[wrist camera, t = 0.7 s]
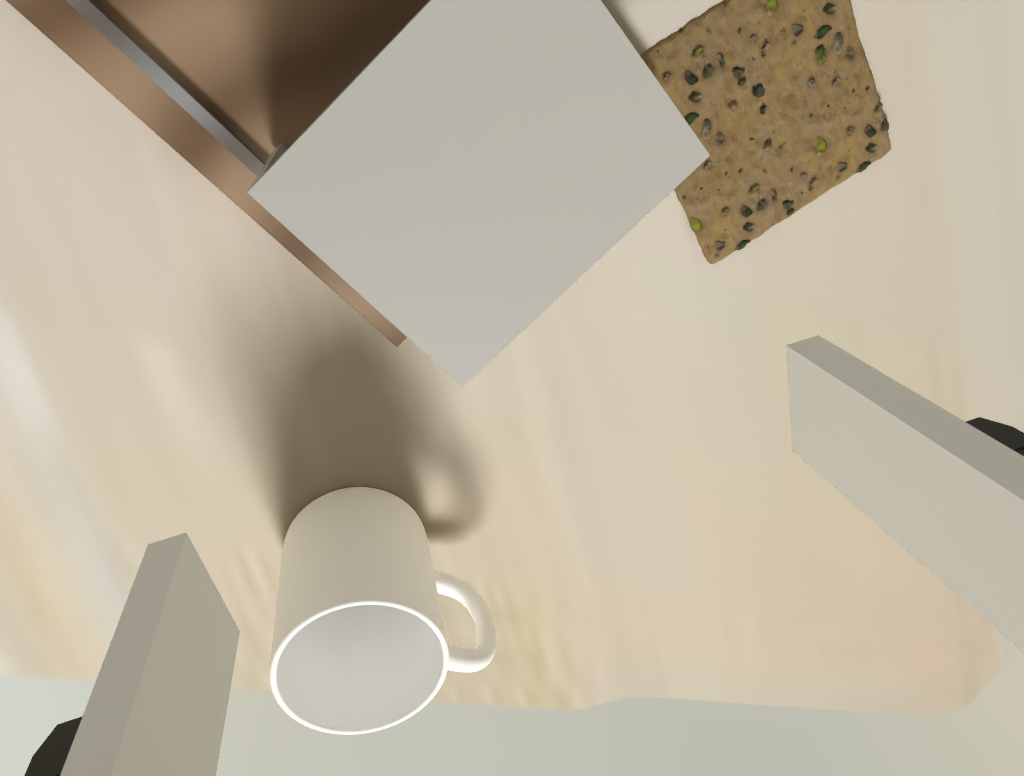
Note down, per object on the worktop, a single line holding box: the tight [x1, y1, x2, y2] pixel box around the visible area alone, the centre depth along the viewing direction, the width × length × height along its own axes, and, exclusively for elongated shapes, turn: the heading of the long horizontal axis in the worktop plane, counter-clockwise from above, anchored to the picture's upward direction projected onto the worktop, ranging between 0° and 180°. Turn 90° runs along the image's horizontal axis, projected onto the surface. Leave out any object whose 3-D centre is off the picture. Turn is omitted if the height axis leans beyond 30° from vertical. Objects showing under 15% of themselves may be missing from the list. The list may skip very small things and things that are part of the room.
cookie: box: [640, 0, 891, 264], centre depth 38 cm, size 12×12×1 cm
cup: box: [269, 487, 496, 734], centre depth 39 cm, size 8×12×10 cm
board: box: [6, 0, 429, 347], centre depth 31 cm, size 24×18×3 cm
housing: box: [247, 0, 710, 387], centre depth 29 cm, size 10×12×10 cm
